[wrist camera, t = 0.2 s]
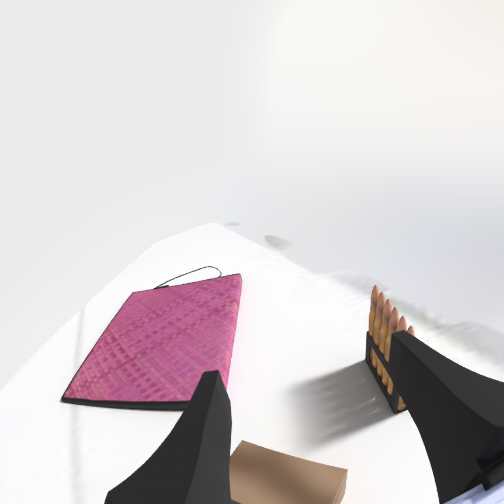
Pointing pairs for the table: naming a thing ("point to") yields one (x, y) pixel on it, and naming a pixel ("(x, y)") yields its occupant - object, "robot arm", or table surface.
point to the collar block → (282, 478)
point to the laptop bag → (161, 346)
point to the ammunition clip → (384, 345)
